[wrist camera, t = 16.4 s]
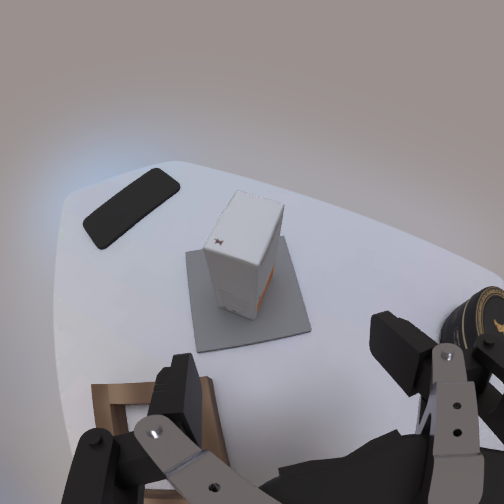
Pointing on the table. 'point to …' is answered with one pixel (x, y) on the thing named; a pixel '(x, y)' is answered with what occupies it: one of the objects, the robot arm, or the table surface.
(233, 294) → the skincare box
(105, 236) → the phone
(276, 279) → the rubber mat
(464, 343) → the jar
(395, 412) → the table surface
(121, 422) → the brown wooden rectangular frame
